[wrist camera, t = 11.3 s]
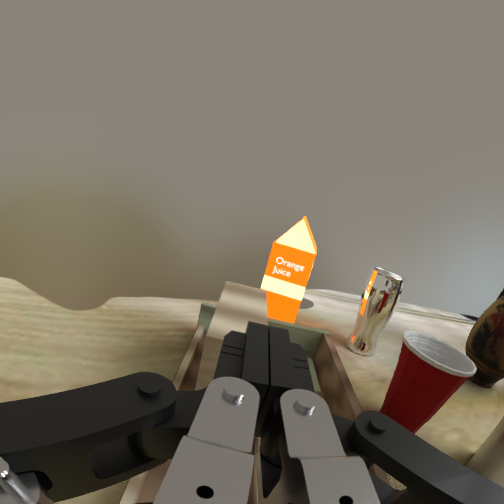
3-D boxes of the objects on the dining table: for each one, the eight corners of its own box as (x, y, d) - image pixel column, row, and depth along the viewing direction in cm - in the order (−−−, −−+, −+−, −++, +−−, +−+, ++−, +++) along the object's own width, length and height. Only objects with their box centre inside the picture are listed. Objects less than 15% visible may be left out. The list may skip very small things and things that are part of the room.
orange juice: (251, 317, 51) (280, 210, 47) (261, 302, 60) (286, 210, 56) (292, 330, 50) (325, 223, 46) (296, 313, 59) (324, 221, 54)
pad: (266, 351, 39) (266, 349, 39) (311, 360, 39) (311, 358, 39) (266, 384, 32) (267, 383, 31) (320, 393, 32) (320, 391, 32)
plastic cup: (441, 433, 25) (488, 360, 23) (399, 465, 20) (461, 381, 18) (392, 393, 35) (428, 324, 32) (344, 411, 30) (386, 330, 27)
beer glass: (382, 356, 46) (413, 282, 43) (355, 357, 44) (387, 277, 41) (363, 338, 53) (390, 269, 49) (336, 338, 51) (363, 264, 48)
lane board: (197, 331, 42) (203, 301, 40) (318, 358, 42) (329, 330, 41) (87, 588, 3) (65, 582, 2) (380, 606, 3) (427, 591, 2)
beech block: (211, 347, 37) (226, 280, 35) (246, 356, 37) (266, 290, 35) (189, 419, 23) (206, 335, 21) (240, 430, 23) (269, 350, 21)
